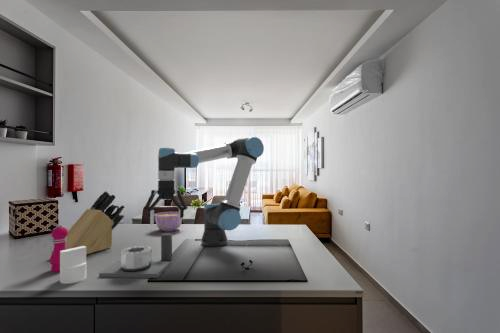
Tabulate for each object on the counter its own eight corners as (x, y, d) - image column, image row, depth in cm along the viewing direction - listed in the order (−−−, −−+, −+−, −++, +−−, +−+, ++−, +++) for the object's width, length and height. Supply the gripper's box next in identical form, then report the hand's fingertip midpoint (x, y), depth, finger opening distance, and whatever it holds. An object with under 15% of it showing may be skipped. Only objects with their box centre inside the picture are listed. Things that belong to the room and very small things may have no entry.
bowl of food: (148, 233, 192) (148, 215, 192) (162, 226, 212) (162, 211, 212) (176, 234, 189) (176, 216, 189) (187, 227, 209) (187, 212, 209)
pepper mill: (56, 266, 127) (55, 222, 127) (73, 266, 128) (72, 221, 128) (45, 272, 120) (45, 225, 120) (63, 272, 120) (63, 225, 121)
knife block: (126, 243, 165) (126, 190, 165) (65, 262, 133) (65, 196, 134) (112, 241, 170) (112, 190, 170) (50, 258, 138) (50, 195, 138)
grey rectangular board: (169, 264, 129) (169, 261, 129) (157, 277, 114) (157, 274, 114) (118, 264, 130) (118, 261, 130) (99, 276, 115) (99, 273, 115)
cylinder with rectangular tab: (67, 285, 107) (67, 253, 107) (55, 280, 112) (55, 250, 112) (91, 277, 115) (91, 247, 115) (79, 273, 119) (79, 244, 119)
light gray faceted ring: (155, 262, 128) (155, 245, 128) (144, 272, 116) (144, 254, 116) (129, 262, 128) (129, 245, 128) (115, 272, 116) (115, 253, 116)
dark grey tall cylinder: (173, 257, 139) (173, 233, 139) (170, 261, 134) (170, 235, 134) (163, 257, 139) (163, 233, 139) (159, 261, 134) (159, 235, 134)
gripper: (137, 180, 134) (137, 225, 134) (190, 180, 133) (189, 226, 132) (144, 179, 141) (143, 222, 141) (193, 179, 140) (193, 223, 140)
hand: (165, 224), depth 137 cm, fingers open, 13 cm apart
